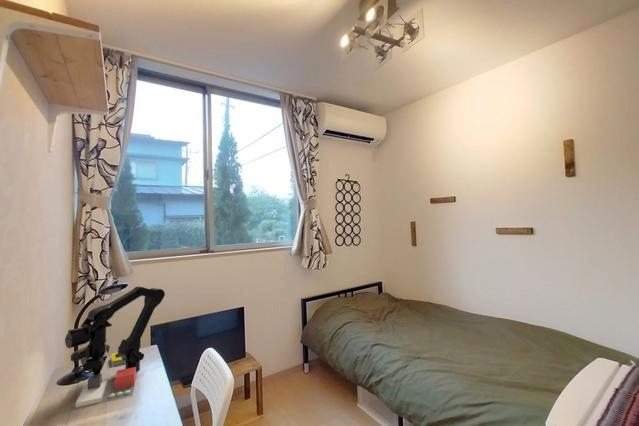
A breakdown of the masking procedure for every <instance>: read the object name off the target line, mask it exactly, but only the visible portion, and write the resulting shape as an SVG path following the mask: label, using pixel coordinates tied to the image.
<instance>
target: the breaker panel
mask: <svg viewBox="0 0 639 426" xmlns="http://www.w3.org/2000/svg"><path fill="white" fill-rule="evenodd" d="M136 380H137V378H136V379H135V381H136ZM135 386H136V383H135V384H134V386H130V387H125V388H120V389H116V390H115V380H112V381H108V380H103V381H102V383H101V385H100V387H97V388H92V389H88V384H85V385H84V386H83V387H81V390H80V392H79V393H78V395H77V397H76V399H75V401H74V402H73V405H72V407H71V408H70V411H74V410H78V409H82V408H87V407H91V406H95V405H99V404H103V403H109V402H113V401H117V400H121V399H125V398H130V397H133V394H134V390H135Z"/></svg>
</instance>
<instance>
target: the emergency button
mask: <svg viewBox="0 0 639 426" xmlns="http://www.w3.org/2000/svg"><path fill="white" fill-rule="evenodd" d="M125 361H126V360H123V359H122V357H120V356H119V355H118V351H117V352H114V353H111V356H110V362H111V363H110V365H111V368H112V369H114V368H118V367H123V366H125Z"/></svg>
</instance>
